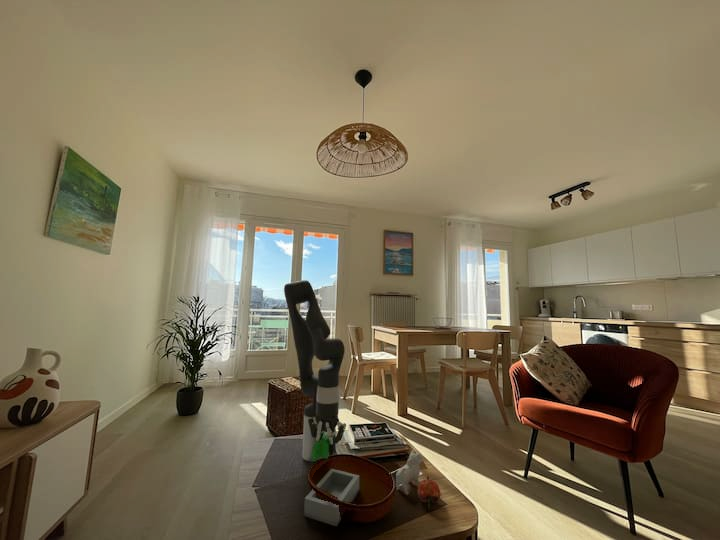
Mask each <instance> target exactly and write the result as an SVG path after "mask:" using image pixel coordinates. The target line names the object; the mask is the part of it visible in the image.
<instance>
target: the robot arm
mask: <svg viewBox="0 0 720 540" xmlns="http://www.w3.org/2000/svg"><path fill="white" fill-rule="evenodd" d="M283 292H284V293H283V294H284V297H285V302H286V305H287V306H286V307H287V309H288V313H289V316H290V317H289V318H290V323H291V329H292V333H293V334H292V335H293V336H292V337H293V340H294V341H293V342H294V348H295V351H296V356H297V363H298V370H299V371H298V372H299V381H300V383H299V384H300V389H301V392H302V394H303V395H304V396H307V397H310V398H313V400H312V403H309V404H307V405H305V406H304V409H303V431H302V432H303V435H302V456H301V457H302V459H303V460H304V461H307V462H314V461H312V447H313V445H314V444H315V443H317V442H318V441H319V440H321V439H322V438H323V437H324V436H326V433H327V434H328V437H329V440H330V444H329V453H328V456H331V457H333V455H334V454H335V453H336V449H337V448H336V447H337V446H336V445H337V444H338V443H339V442H341V441H342V438H343V437H344V434H345V431H346V427H347V423H345V422H344V423H343V422H341V421H340V419H339V410H340V409H339V408H340V407H339V406H340V405H339V404H340V403H339V401H340V389H339V377H340V375H339V374H340V370H341V367H342V363H343V360H344V357H345V351H346V350H345V344H344V342H343V340H341V339H340V338H329V337H330V335H331V329H330V326H329V325H328V323H327V321H326V319H325V318H324V316H323V313H322V311H321V307H320V305H319V303H318V300H317V297H316V294H315V290H314V289H313V286H312V284H311V282H310V281H309V280H307V279H302V280H296V281H293V282H288V283H286V284H285V285H284V287H283ZM307 302H308V310H307V312H306V316H305V318H304V317H303V316H302V315H301V313H300V312H299V310H298V308H297V305H300V304H303V303H307ZM314 357H315V358H316V359H318V361H324V362H325V361H328V363H327V364H326V365H324V366H322V367H319V370H318V372H317V374H315V373H314V369H313V359H314ZM321 458H322V457H320V458H318V459H317V460H319V459H321ZM322 459H323V458H322ZM322 459H321V460H322ZM317 460H316V461H315V462H318V461H317ZM319 461H320V460H319Z"/></svg>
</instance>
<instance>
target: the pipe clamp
mask: <svg viewBox="0 0 720 540" xmlns="http://www.w3.org/2000/svg"><path fill="white" fill-rule="evenodd" d="M329 444H330V440H329V437H328V433H327V434H325V436H324V437H323V438H322V439H321V440H319V441H318V442H317V443H315V444H314V445H313V447H312V461H313V462H317V461H316V460H317V459H318V458H320V457H322V459H328V458H329ZM312 461H311V462H312Z"/></svg>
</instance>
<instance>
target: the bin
mask: <svg viewBox="0 0 720 540" xmlns="http://www.w3.org/2000/svg"><path fill="white" fill-rule="evenodd" d="M315 486H317V487H318V488H320V489H322V490H324V491H327V492H328V493H329V494H331V495H333V496H335V497H337V498H338V500H340V501H345V502H352V503H353V501H354V499H355V498H356V497H357V495H358V494H357V493H359V492H360V475H359V474H354V473H350V472H347V471H343V470H338V469H334V468H330V469H329V471H328V472H326V474H325V475H324V476H323V477H322V478H321V479H320V480H319V482H318V483H316V485H315ZM358 491H359V492H358ZM303 503H304V505H303V507H304V510H303V516H304V517H305V518H309V519H312V520H316V521H318V522H322V523H324V524H328V525H330V526H334V527H338V525H339V523H340V522H341V520H342V519H341V517H340V512H339V505H336V504H333V503H331V502H328V501H324V500H321V499H318V498H316V492H315V491H314V490H313V489H311V490H310V491H309V493H308V494H307V495H306V496H305V498H304V502H303Z"/></svg>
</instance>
